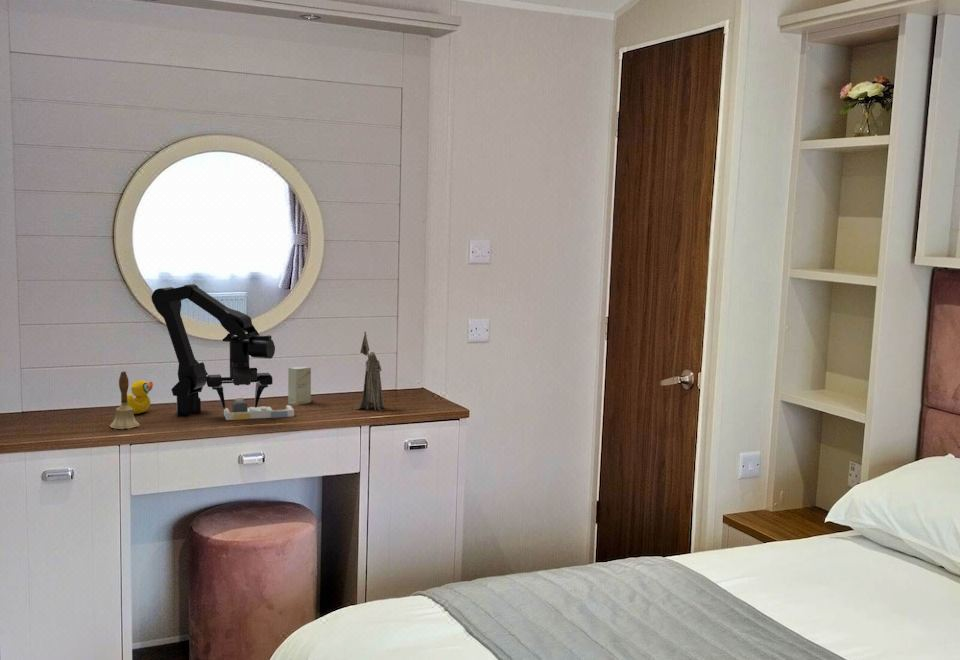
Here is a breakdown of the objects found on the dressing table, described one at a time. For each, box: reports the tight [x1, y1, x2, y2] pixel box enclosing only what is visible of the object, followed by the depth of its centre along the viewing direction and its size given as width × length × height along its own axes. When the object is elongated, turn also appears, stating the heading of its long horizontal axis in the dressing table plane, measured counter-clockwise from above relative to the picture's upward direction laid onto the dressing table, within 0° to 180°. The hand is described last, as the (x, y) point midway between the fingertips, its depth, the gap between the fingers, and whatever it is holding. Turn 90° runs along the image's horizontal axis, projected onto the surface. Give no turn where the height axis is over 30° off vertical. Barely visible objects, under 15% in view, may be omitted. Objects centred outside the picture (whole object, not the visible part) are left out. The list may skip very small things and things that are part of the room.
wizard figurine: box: [354, 331, 386, 412], centre depth 300 cm, size 10×8×25 cm
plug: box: [231, 397, 248, 412], centre depth 284 cm, size 4×4×6 cm
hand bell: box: [109, 370, 141, 429], centre depth 269 cm, size 8×8×16 cm
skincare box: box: [287, 365, 312, 406], centre depth 306 cm, size 6×4×12 cm
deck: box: [247, 406, 273, 412], centre depth 294 cm, size 10×7×1 cm
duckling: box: [127, 379, 154, 415], centre depth 288 cm, size 11×5×10 cm, turn 158°
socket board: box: [223, 404, 295, 421], centre depth 284 cm, size 20×11×2 cm, turn 110°
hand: (239, 408), depth 284 cm, fingers open, 9 cm apart
